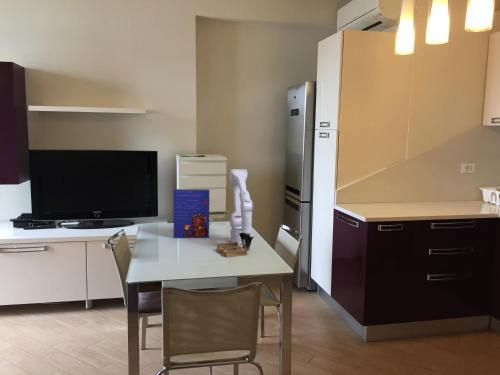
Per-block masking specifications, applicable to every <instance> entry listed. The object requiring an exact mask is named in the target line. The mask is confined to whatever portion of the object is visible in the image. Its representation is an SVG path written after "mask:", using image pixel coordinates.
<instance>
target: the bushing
mask: <svg viewBox="0 0 500 375" xmlns="http://www.w3.org/2000/svg"><path fill="white" fill-rule="evenodd" d="M242 248H243V249H245V250H247V252H248V251H250V248H251V247H250V248H246V245H245V239H243V245H242Z"/></svg>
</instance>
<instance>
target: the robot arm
mask: <svg viewBox="0 0 500 375" xmlns="http://www.w3.org/2000/svg"><path fill="white" fill-rule="evenodd" d="M228 174H229V183H230V184H231V185H232V188H233V189H232V190H233V205H234V206H233V207H234V208H233V209H234V212H232V213H231V214H230V216H229V217H230V218H229V226H230V227H231V229H230V239H229V240H228V241H229V243H231V242H238V245H242V246H243V239H245V245H246V248H251V244H252V241H253V239H254V237H255V236H254V234H255V233H254V232H253V230H252V228H253V227H252V221H253V212H254V209H255V208H254V202H253V201H252V200H251V197H250V193H249V191H248V190H247V183H246V181H247V178H248V170H247V169H246V168H244V169H241V168H239V169H237V168H236V169H232V168H231V169H230V170H229V173H228Z"/></svg>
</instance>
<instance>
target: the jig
mask: <svg viewBox="0 0 500 375" xmlns="http://www.w3.org/2000/svg"><path fill="white" fill-rule="evenodd" d="M216 251H217V252H218V253H220V255H223V256H224V257H225V258H235V257H241V256H243V257H244V256H248V251H247V250H245V249H243V246H240V245H239V244H238V242H223V243H221V242H220V243H216Z"/></svg>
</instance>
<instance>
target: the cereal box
mask: <svg viewBox="0 0 500 375" xmlns="http://www.w3.org/2000/svg"><path fill="white" fill-rule="evenodd" d="M209 219H210V189H201V188H200V189H197V188H196V189H195V188H194V189H192V188H190V189H189V188H181V189H179V188H173V239H209V238H210V226H209V224H210V220H209Z"/></svg>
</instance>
